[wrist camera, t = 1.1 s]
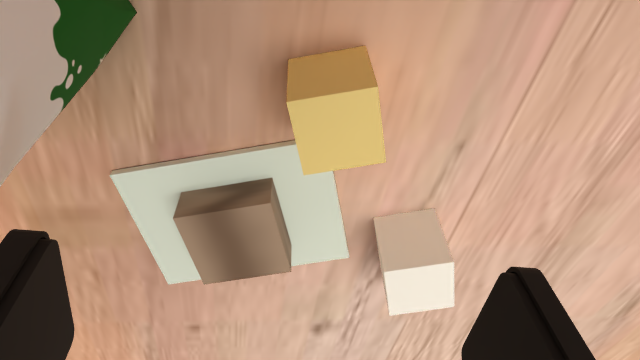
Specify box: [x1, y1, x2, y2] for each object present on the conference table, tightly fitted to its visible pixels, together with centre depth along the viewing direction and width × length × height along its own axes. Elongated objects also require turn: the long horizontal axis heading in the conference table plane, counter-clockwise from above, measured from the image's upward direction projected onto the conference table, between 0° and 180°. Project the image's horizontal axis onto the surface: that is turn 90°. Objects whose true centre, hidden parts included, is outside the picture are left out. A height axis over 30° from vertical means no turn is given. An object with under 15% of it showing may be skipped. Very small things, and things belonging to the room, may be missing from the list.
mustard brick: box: [286, 46, 386, 175], centre depth 30 cm, size 5×5×6 cm
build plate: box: [110, 140, 349, 284], centre depth 38 cm, size 16×12×1 cm
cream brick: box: [373, 208, 454, 316], centre depth 38 cm, size 5×5×6 cm
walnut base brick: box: [173, 178, 292, 284], centre depth 36 cm, size 7×7×3 cm
